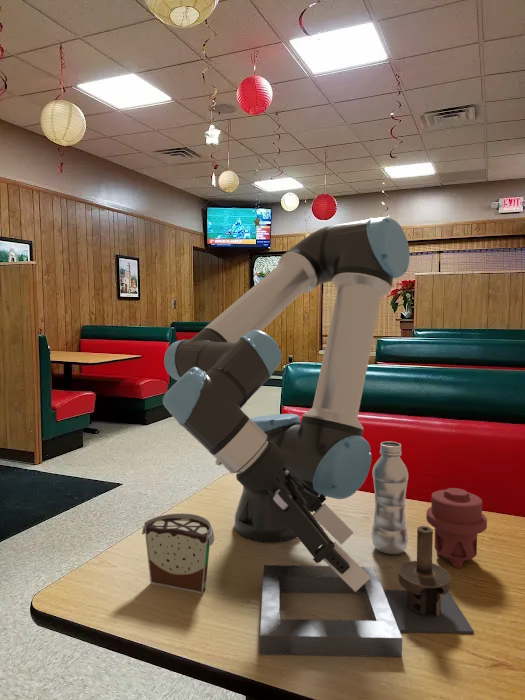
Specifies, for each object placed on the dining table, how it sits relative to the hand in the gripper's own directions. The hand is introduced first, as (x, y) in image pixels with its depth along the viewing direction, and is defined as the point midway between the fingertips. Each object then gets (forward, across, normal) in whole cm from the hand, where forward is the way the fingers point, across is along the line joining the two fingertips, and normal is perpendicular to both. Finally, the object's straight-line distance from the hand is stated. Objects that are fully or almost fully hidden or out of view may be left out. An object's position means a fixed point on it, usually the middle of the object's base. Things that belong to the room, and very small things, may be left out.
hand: (354, 558), depth 72 cm
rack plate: (+2, +1, -9) cm, 9 cm away
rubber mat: (+13, 0, +2) cm, 13 cm away
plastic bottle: (+12, -19, +1) cm, 23 cm away
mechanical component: (+20, -16, +9) cm, 27 cm away
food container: (-13, -8, -24) cm, 29 cm away
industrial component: (+13, +1, +2) cm, 13 cm away
